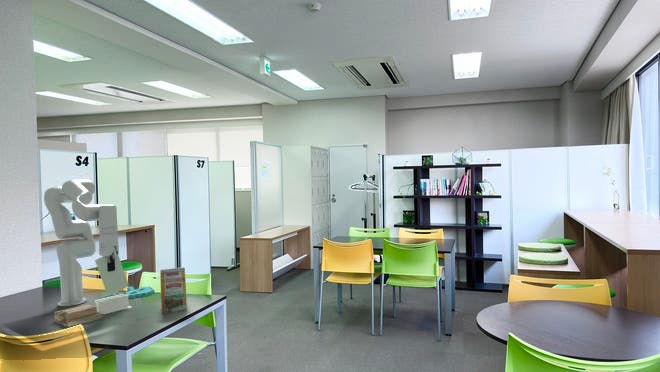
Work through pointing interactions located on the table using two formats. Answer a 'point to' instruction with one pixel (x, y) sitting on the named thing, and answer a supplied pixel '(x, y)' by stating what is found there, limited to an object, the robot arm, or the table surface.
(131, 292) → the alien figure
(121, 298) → the stand
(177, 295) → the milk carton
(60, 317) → the rack
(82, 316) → the offcut lower
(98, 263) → the sheet
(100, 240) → the robot arm
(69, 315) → the offcut upper
